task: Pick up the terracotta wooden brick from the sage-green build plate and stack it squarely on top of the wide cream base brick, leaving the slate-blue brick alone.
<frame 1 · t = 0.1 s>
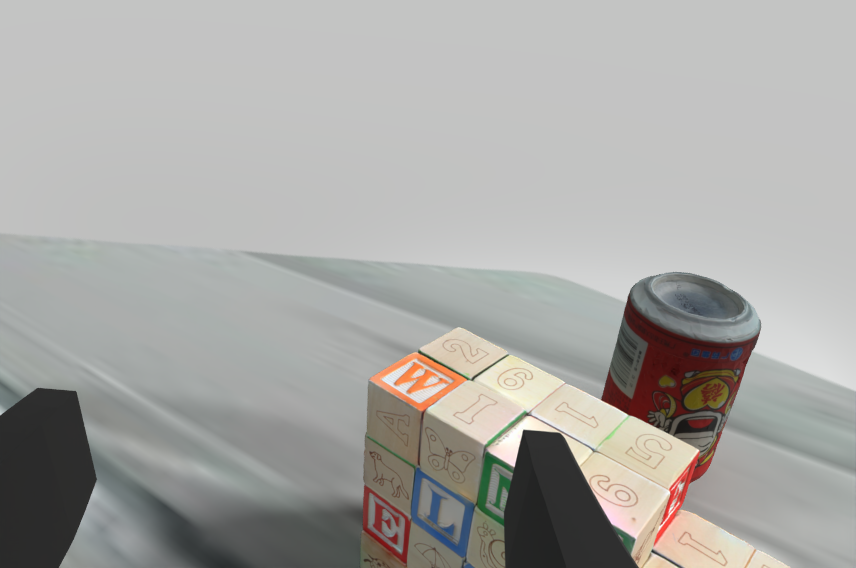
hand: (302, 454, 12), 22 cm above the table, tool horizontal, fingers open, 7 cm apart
soda can: (644, 465, 44), on the table
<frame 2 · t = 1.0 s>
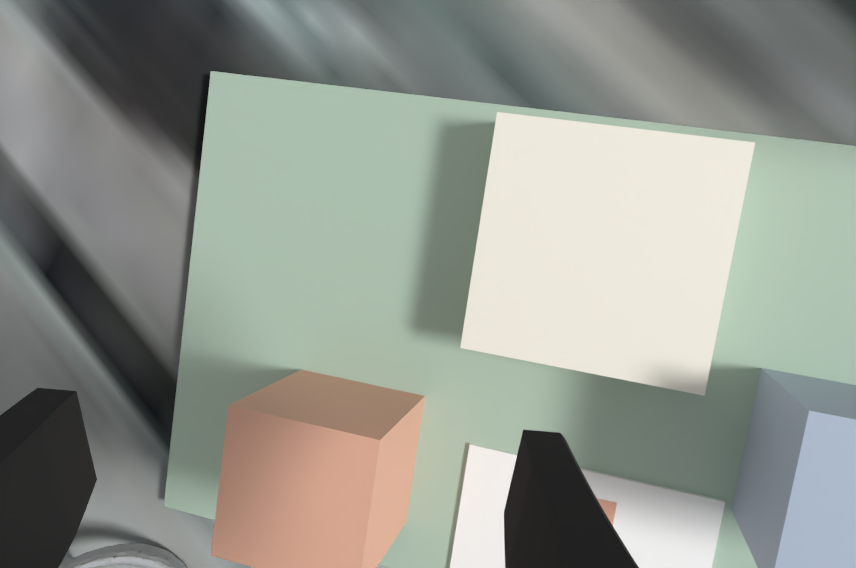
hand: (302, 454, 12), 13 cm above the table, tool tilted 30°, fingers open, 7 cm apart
cream base brick: (599, 248, 22), resting on build plate
instruction card: (576, 558, 23), resting on build plate
terracotta brick: (353, 445, 24), resting on build plate
build plate: (501, 355, 23), on the table
slate-blue brick: (826, 456, 21), resting on build plate
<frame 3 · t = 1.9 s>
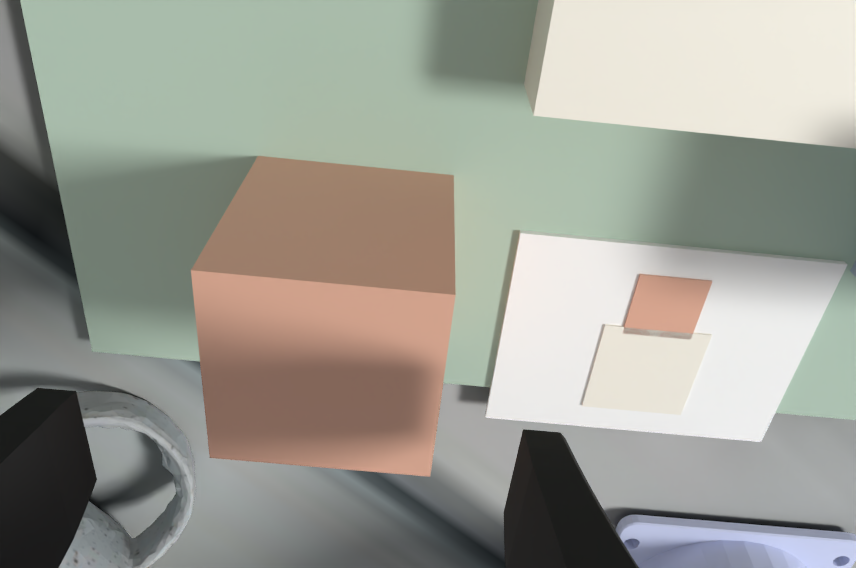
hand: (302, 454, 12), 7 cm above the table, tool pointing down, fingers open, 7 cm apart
instruction card: (650, 343, 19), resting on build plate
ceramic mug: (53, 464, 23), on the table
terracotta brick: (352, 250, 17), resting on build plate
build plate: (562, 104, 16), on the table
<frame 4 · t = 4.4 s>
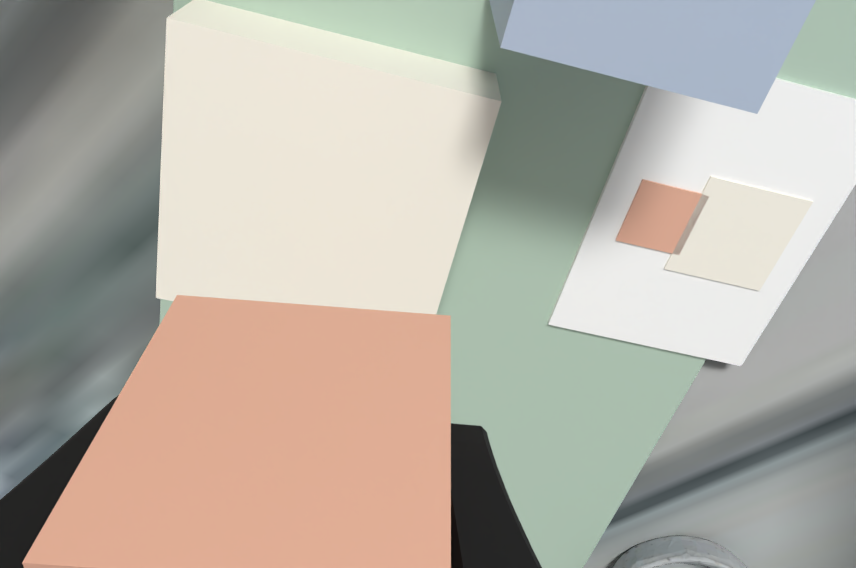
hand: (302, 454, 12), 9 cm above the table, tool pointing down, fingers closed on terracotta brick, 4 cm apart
cream base brick: (325, 173, 18), resting on build plate
instruction card: (705, 225, 19), resting on build plate
terracotta brick: (316, 406, 13), point 8 cm above the table, touching gripper
build plate: (451, 275, 20), on the table
when the fingers open (4 cm above the table, at t = 5.8 s): terracotta brick stays where it is, resting on cream base brick.
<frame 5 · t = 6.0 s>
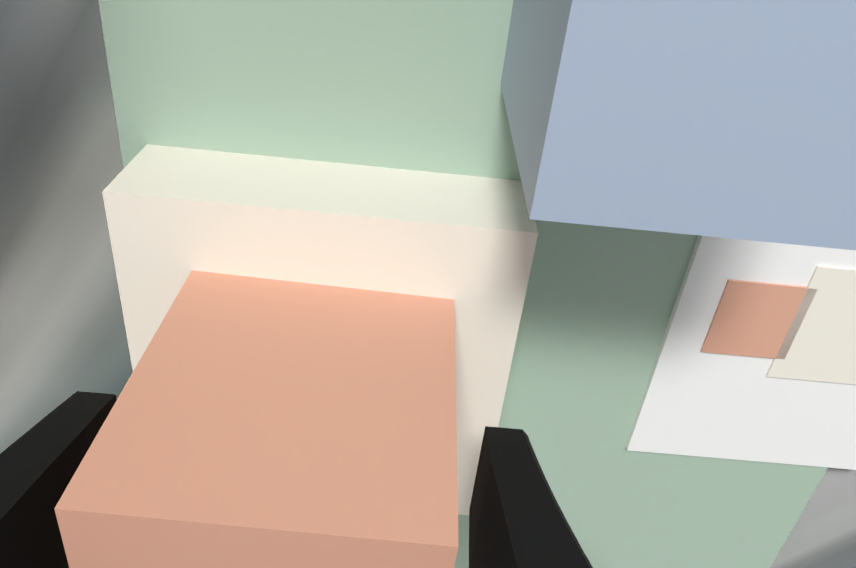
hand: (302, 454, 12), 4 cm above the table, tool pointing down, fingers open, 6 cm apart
cream base brick: (334, 316, 15), resting on build plate, touching terracotta brick
instruction card: (814, 321, 15), resting on build plate
terracotta brick: (319, 384, 13), point 2 cm above the table, touching cream base brick
build plate: (502, 404, 17), on the table
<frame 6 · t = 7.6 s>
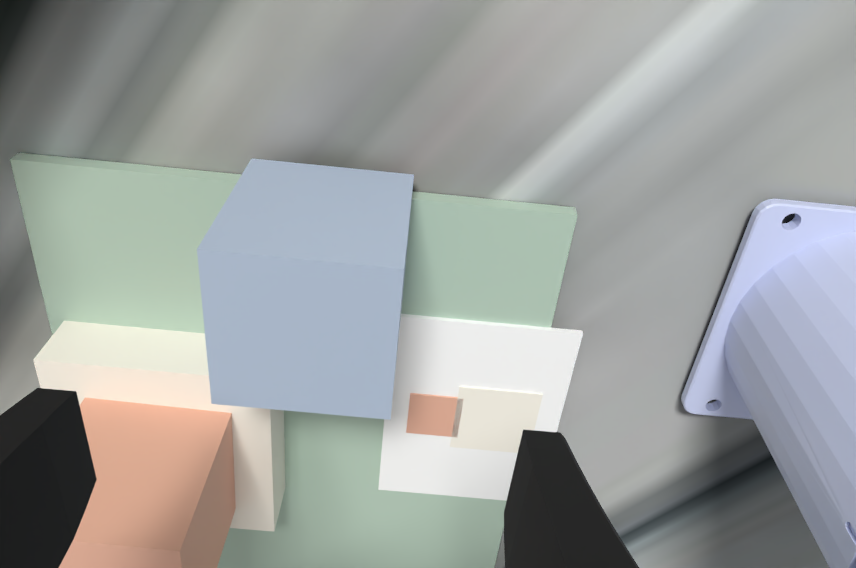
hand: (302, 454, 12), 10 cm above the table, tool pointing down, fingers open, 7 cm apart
cream base brick: (183, 410, 25), resting on build plate, touching terracotta brick
instruction card: (471, 415, 24), resting on build plate
terracotta brick: (164, 456, 23), point 2 cm above the table, touching cream base brick
build plate: (301, 460, 27), on the table
slate-blue brick: (331, 237, 21), resting on build plate
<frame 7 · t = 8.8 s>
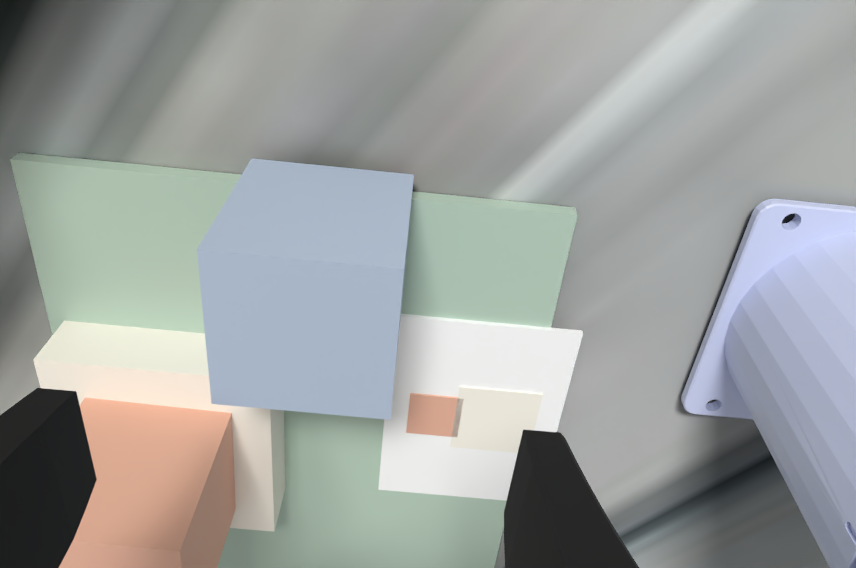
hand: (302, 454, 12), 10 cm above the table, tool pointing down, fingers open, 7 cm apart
cream base brick: (183, 410, 25), resting on build plate, touching terracotta brick
instruction card: (471, 415, 24), resting on build plate
terracotta brick: (164, 456, 23), point 2 cm above the table, touching cream base brick
build plate: (301, 460, 27), on the table
slate-blue brick: (331, 237, 21), resting on build plate
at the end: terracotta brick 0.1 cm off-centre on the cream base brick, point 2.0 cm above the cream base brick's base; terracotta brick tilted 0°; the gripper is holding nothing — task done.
